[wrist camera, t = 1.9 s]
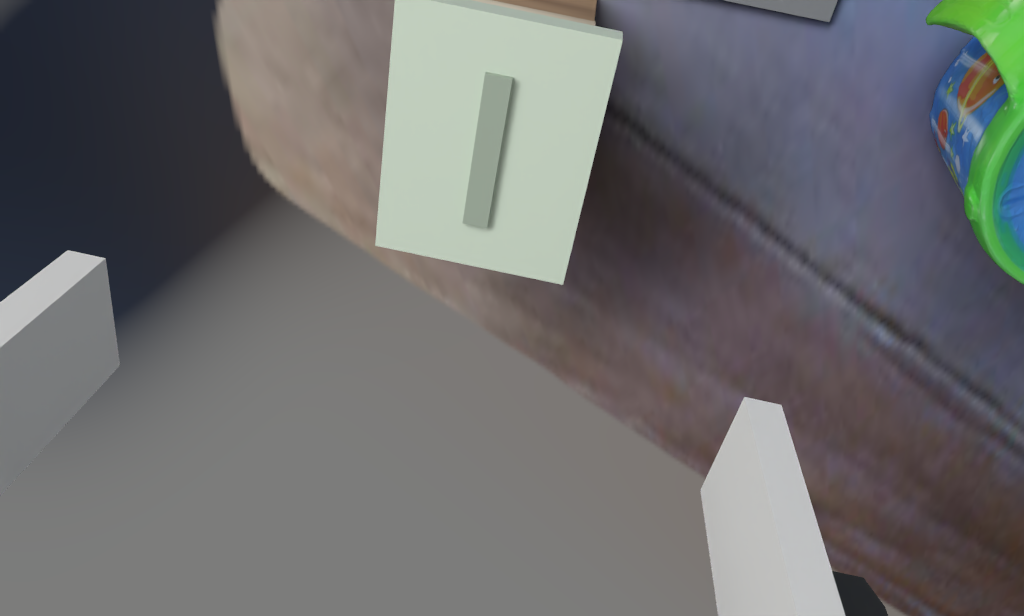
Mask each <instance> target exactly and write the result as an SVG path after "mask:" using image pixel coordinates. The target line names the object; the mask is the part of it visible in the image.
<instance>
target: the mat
mask: <svg viewBox="0 0 1024 616" xmlns="http://www.w3.org/2000/svg"><path fill="white" fill-rule="evenodd" d="M724 1H729V2H734V3H739V4H744V5H749V6H754V7H758V8H763V9H768V10H773V11H778V12H783V13H787V14H792V15H797V16H802V17H807V18H812V19H817V20H821V21H826V22H830V19H831V16H832V14H833V11H834V9H835V6H836V4H837V1H838V0H724Z"/></svg>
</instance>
